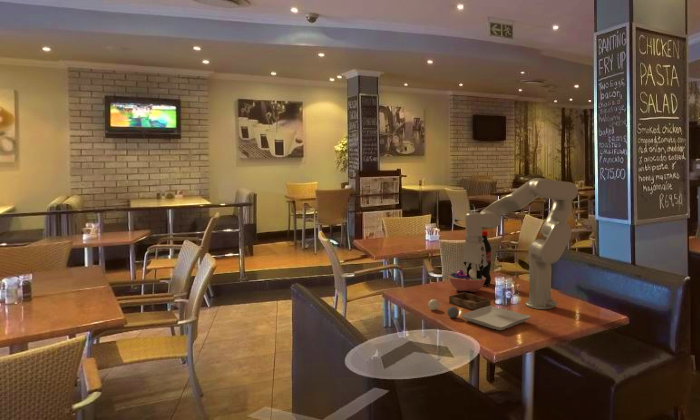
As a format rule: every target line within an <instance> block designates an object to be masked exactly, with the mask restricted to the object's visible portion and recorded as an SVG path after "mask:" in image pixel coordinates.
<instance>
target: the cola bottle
mask: <svg viewBox="0 0 700 420" xmlns="http://www.w3.org/2000/svg"><path fill="white" fill-rule="evenodd" d="M482 238H484V240H483V241H482V242H484V245H485V251H486V261H487V263H488V265H487V266H485V268H484V269H483V270H482V276H484V277H485V278H486V280H485V283H484V285H486V286H489V285H490V284H491V282H492V281H491V280H492V277H491V274H490V273H491V272H490V271H491V266H492V246H491V244H490V242H489V239H488V231H487V230H482ZM482 265H483V263H482ZM479 266H480V265H479ZM475 268H477V265H476V264H475Z"/></svg>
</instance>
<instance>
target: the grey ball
mask: <svg viewBox="0 0 700 420" xmlns="http://www.w3.org/2000/svg"><path fill="white" fill-rule="evenodd" d="M446 312H447V316H448V317H450V318H452V319H455V318H457V317H458V316H459V313H460V311H459V308H458V307H456V306H455V305H454V306H450V307H448V308H447V311H446Z"/></svg>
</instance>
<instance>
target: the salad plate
mask: <svg viewBox="0 0 700 420" xmlns="http://www.w3.org/2000/svg"><path fill="white" fill-rule="evenodd" d="M460 317H462V318H463V319H464V320H465V321H468V322H470V323H473V324H475V325H476V324H477V325H480V326H482V327H486V328H489V329H493V330H495V329H496V330H497V331H503V330H507V329H509V328H512V327H514V325H515V326H517V325H519V324H522V323H524V322H526V321H528V320H529V319H530V318H531V315H529V314H528V315H527V314H524V313H520V312H517V311H514V310H513V311H512V310H509V309H504V308H500V307H497V306H493V305H491V306H487V307H484V308H480V309H477V310H474V311H473V310H470V311H469V312H465V313H463V314H461V315H460ZM506 328H507V329H506ZM496 330H495V331H496Z"/></svg>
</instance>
